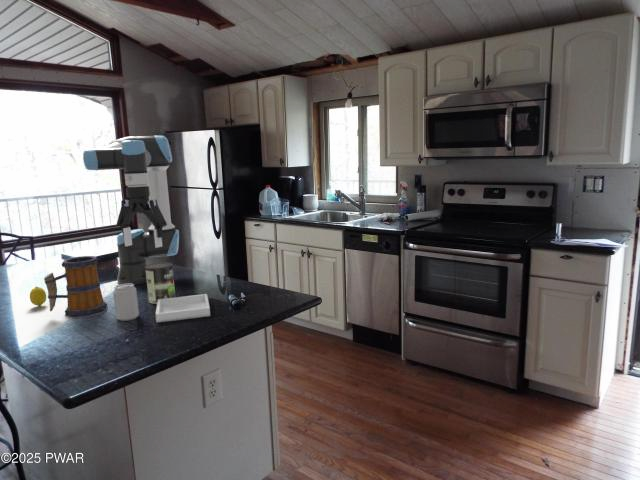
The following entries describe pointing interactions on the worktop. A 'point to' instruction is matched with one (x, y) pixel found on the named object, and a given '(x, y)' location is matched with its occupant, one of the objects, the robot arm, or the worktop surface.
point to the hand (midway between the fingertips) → (143, 246)
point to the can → (126, 302)
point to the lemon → (37, 296)
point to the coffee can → (160, 281)
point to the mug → (78, 288)
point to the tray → (182, 308)
